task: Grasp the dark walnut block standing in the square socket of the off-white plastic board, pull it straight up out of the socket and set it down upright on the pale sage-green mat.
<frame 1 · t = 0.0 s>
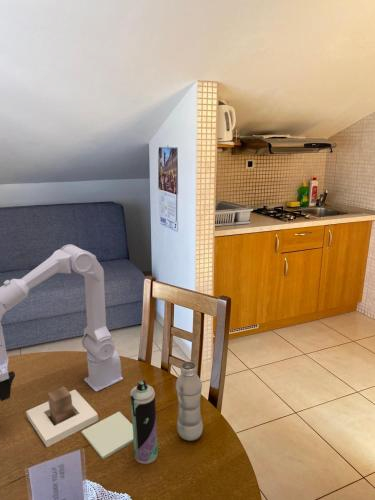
hand: (0, 391, 100), 10 cm above the table, tool pointing down, fingers open, 7 cm apart
spray can: (146, 455, 93), on the table
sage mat: (111, 435, 99), on the table
walnut block: (62, 419, 105), resting in socket board
plastic bottle: (190, 435, 99), on the table
socket board: (62, 418, 105), on the table
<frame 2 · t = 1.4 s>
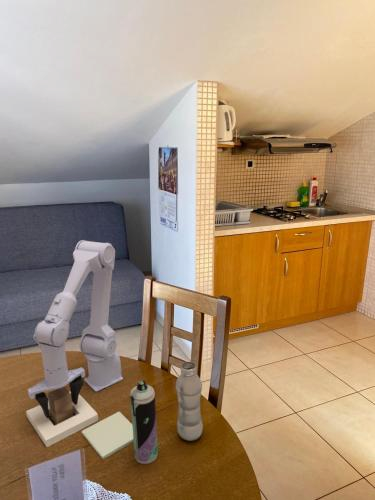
hand: (61, 409, 104), 3 cm above the table, tool pointing down, fingers open, 7 cm apart
nothing on the table moved.
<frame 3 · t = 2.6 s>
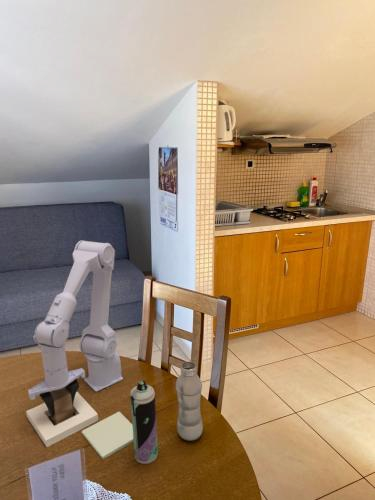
hand: (61, 409, 104), 3 cm above the table, tool pointing down, fingers closed on walnut block, 4 cm apart
walnut block: (62, 418, 105), resting in socket board, touching gripper
everything else where it was.
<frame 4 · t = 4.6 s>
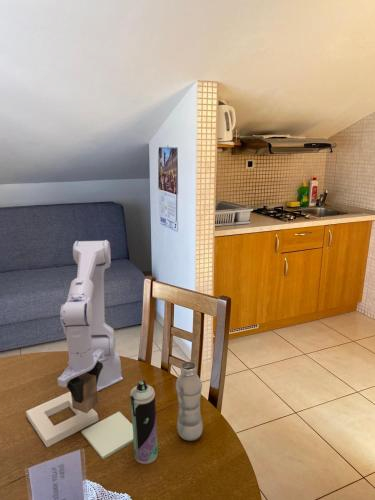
hand: (85, 395, 99), 10 cm above the table, tool pointing down, fingers closed on walnut block, 4 cm apart
walnut block: (85, 405, 100), point 7 cm above the table, touching gripper
everything else where it was.
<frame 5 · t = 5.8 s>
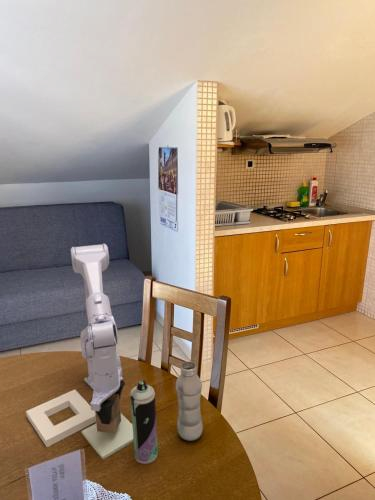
hand: (110, 415, 97), 6 cm above the table, tool pointing down, fingers closed on walnut block, 4 cm apart
walnut block: (109, 426, 98), point 3 cm above the table, touching gripper
everything else where it was.
when the fingers open (5 cm above the table, at t = 6.9 s): walnut block stays where it is, resting on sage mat.
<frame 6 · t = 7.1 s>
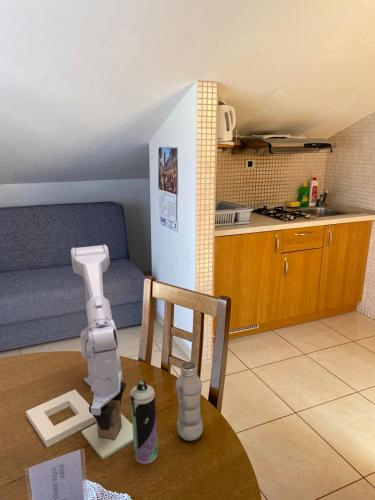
hand: (110, 419, 98), 5 cm above the table, tool pointing down, fingers open, 6 cm apart
walnut block: (110, 432, 99), point 1 cm above the table, touching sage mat
everything else where it was.
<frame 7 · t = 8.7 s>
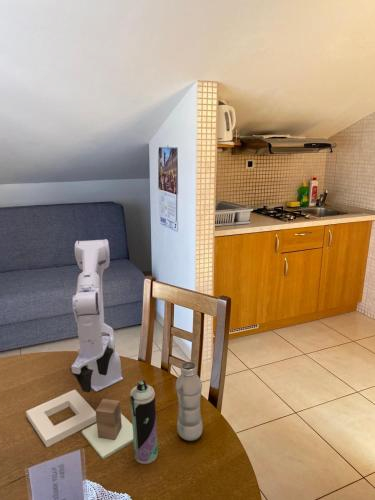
hand: (95, 382, 103), 10 cm above the table, tool pointing down, fingers open, 7 cm apart
nothing on the table moved.
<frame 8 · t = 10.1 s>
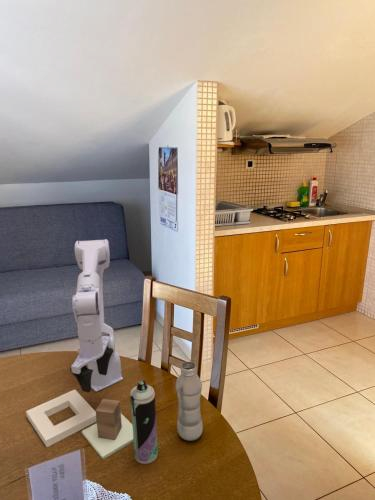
hand: (94, 382, 103), 10 cm above the table, tool pointing down, fingers open, 7 cm apart
nothing on the table moved.
at the end: walnut block 0.4 cm off-centre on the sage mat, point 0.8 cm above the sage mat's base; walnut block tilted 0°; the gripper is holding nothing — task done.
